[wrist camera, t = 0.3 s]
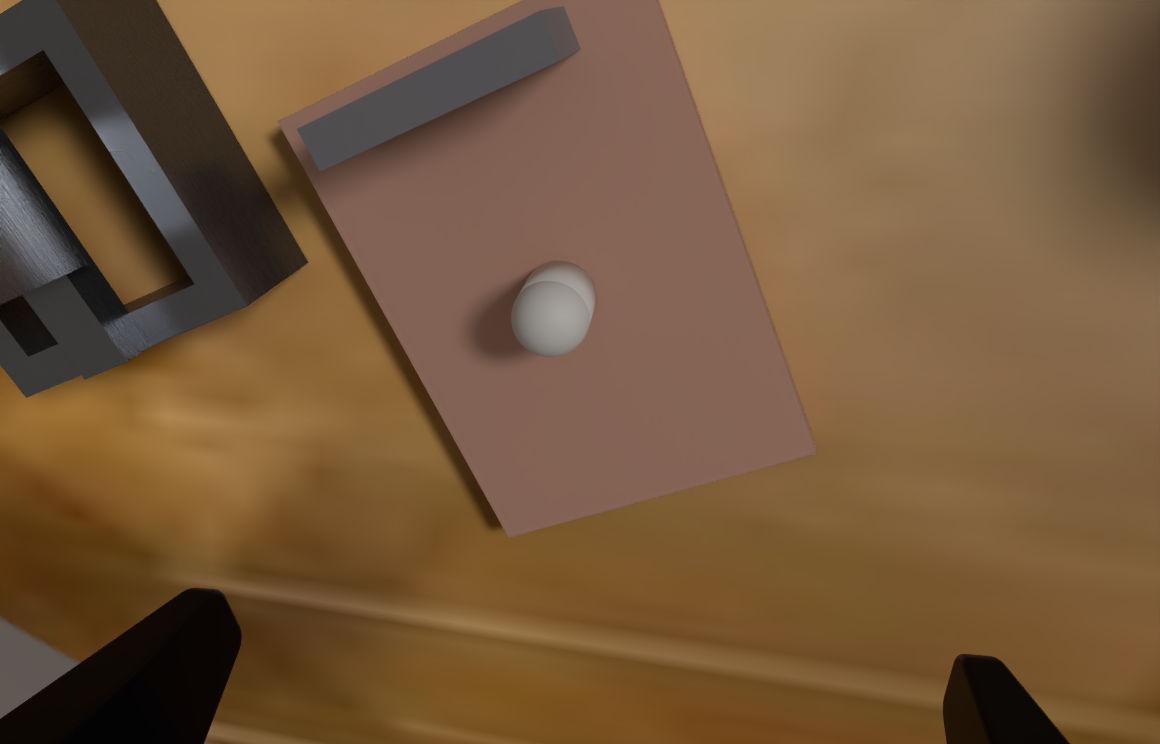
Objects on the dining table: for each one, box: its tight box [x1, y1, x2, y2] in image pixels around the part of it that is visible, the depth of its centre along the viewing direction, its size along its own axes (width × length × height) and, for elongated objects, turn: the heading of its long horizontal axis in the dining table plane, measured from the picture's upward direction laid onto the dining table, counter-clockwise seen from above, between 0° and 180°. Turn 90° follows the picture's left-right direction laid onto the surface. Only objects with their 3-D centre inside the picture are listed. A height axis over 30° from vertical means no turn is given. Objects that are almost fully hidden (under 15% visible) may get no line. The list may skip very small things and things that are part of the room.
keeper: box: [277, 0, 817, 537], centre depth 21 cm, size 14×10×4 cm
